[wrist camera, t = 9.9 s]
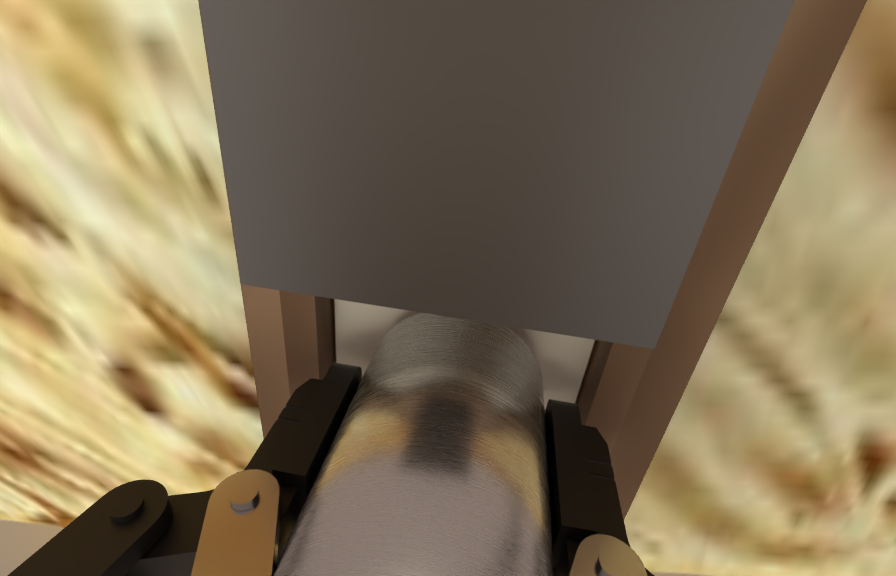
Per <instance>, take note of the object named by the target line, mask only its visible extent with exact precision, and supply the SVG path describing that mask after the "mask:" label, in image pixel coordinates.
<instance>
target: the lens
mask: <svg viewBox="0 0 896 576" xmlns="http://www.w3.org/2000/svg"><path fill="white" fill-rule="evenodd" d="M273 576H555V570H554V554H553V538H552V522H551V506H550V489H549V473H548V457H547V441H546V425H545V409H544V392H543V379H542V373H541V369H540V366H539V363H538V361H537V359H536V357H535V355H534V353H533V352H532V350H531V349H530V348H529V346H528V345H527V344H526V343H525V342H524V341H523V340H522V338H521V337H520V336H518V335H517V334H516V333H515V332H513V331H512V330H511V329H510V328H508V327H506V326H504V325H497V324H491V323H485V322H478V321H472V320H466V319H459V318H453V317H446V316H440V315H434V314H427V313H420V314H416V315H414V316H411V317H409V318H406V319H404V320H403V321H401V322H399V323H397V324H396V325H395V326H393V327H392V328H391V329H390V330H389V331H388V332H387V333H386V334H385V335H384V336H383V337H382V339H381V340H380V341H379V343H378V345H377V347H376V349H375V351H374V353H373V355H372V357H371V360H370V362H369V364H368V366H367V368H366V371H365V373H364V375H363V377H362V379H361V381H360V384H359V386H358V388H357V390H356V392H355V394H354V397H353V399H352V401H351V403H350V405H349V408H348V410H347V412H346V414H345V416H344V418H343V421H342V423H341V425H340V427H339V429H338V432H337V434H336V436H335V438H334V440H333V442H332V445H331V447H330V449H329V451H328V453H327V456H326V458H325V460H324V462H323V464H322V466H321V469H320V471H319V473H318V475H317V477H316V479H315V482H314V484H313V486H312V488H311V490H310V493H309V495H308V497H307V499H306V501H305V503H304V506H303V508H302V510H301V512H300V514H299V517H298V519H297V521H296V523H295V525H294V527H293V530H292V532H291V534H290V536H289V538H288V540H287V543H286V545H285V547H284V549H283V551H282V554H281V556H280V558H279V560H278V562H277V564H276V567H275V569H274V572H273Z"/></svg>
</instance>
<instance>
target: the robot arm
mask: <svg viewBox="0 0 896 576" xmlns="http://www.w3.org/2000/svg"><path fill="white" fill-rule="evenodd" d="M361 379H362V369H361V367H358V366H352V365H347V364H341V363H333V364H332V365H331V367H330V368H329V370H328V372H327V374H326V375H325V377H324V379H323V380H320V379H314V378H310V379H309V380H308V381H306V382H305V383H304V384H302V385H301V386H300V387H298V388H297V389H296V390H295V391H294V393H293V394H292V396H291V397H290V399H289V401H288V402H287V404H286V407H285V408H283V410H282V412H281V413H280V415H279V416H278V420H276V421H275V423H274V424H273V426H272V428H271V429H270V431H269V432H268V434H267V435H266V437H265V439H264V440H263V442H262V443H261V445H260V447H259V448H258V450H257V451H256V453H255V454H254V456H253V458H252V459H251V461H250V462H249V464H248V466H247V467H246V468H245V470H244V471H241V472H237V473H235V474H233V475H231V476H229V477H228V478H226V479H225V480H223V481H222V482H221V483H220V484H219V485H218V486H217V487H216V488H215V489H213V490H210V491H205V492H198V493H189V494H180V495H171V496H168V493H167V491H166V489H165V487H164V486H163V485H162V484H160V483H159V482H156V481H153V480H136V481H132V482H128V483H125V484H123V485H120V486H118V487H116V488H114V489H113V490H111V491H109V492H108V493H107V494H105V495H104V496H103V497H101V498H100V499H99V500H98V501H97V502H95V503H94V504H93V505H92V506H91V507H89V508H88V509H87V510H86V511H85V512H83V513H82V514H81V515H80V516H79V517H77V518H76V519H75V520H74V521H73V522H71V523H70V524H69V525H68V526H67V527H65V528H64V529H63V530H62V531H61V532H59V533H58V534H57V535H56V536H55V537H53V538H52V539H51V540H50V541H49V542H47V543H46V544H45V545H44V546H43V547H42V548H40V549H39V550H38V551H37V552H35V553H34V554H33V555H32V556H31V557H29V558H28V559H27V560H26V561H25V562H23V563H22V564H21V565H20V566H19V567H17V568H16V569H15V570H14V571H13V572H11V573H10V574H9V575H8V576H273V572H274V569H275V567H276V564H277V562H278V560H279V558H280V556H281V554H282V551H283V549H284V547H285V545H286V543H287V540H288V538H289V536H290V534H291V532H292V530H293V527H294V525H295V523H296V521H297V519H298V517H299V514H300V512H301V510H302V508H303V506H304V503H305V501H306V499H307V497H308V495H309V493H310V490H311V488H312V486H313V484H314V482H315V479H316V477H317V475H318V473H319V471H320V469H321V466H322V464H323V462H324V460H325V458H326V456H327V453H328V451H329V449H330V447H331V445H332V442H333V440H334V438H335V436H336V434H337V432H338V429H339V427H340V425H341V423H342V421H343V418H344V416H345V414H346V412H347V410H348V408H349V405H350V403H351V401H352V399H353V397H354V394H355V392H356V390H357V388H358V386H359V384H360V381H361ZM545 425H546V441H547V457H548V473H549V489H550V506H551V522H552V538H553V554H554V570H555V576H654V575H653V574H651V573H650V572H649V571H648V570H647V569H646V568H645V567H644V565H643V563H642V561H641V560H640V558H639V556H638V555H637V554H636V553H635V552H634V551H633V550H632V549H631V547H630V545H629V542H628V538H627V534H626V529H625V525H624V520H623V515H622V510H621V506H620V501H619V496H618V491H617V487H616V482H615V481H614V478H615V477H614V472H613V468H612V466H611V458H610V453H609V449H608V444H607V443H606V441H605V440H604V438H603V437H602V435H601V434H600V432H599V431H598V429H597V428H596V427H591V426H585V425H582V423H581V417H580V411H579V406H578V404H575V403H569V402H564V401H558V400H552V399H549V400H548V403H547V406H546V409H545Z"/></svg>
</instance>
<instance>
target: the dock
mask: <svg viewBox="0 0 896 576" xmlns="http://www.w3.org/2000/svg"><path fill="white" fill-rule="evenodd" d="M198 1H199V8H200V15H201V22H202V28H203V35H204V42H205V48H206V55H207V62H208V69H209V75H210V82H211V89H212V95H213V102H214V109H215V115H216V122H217V129H218V136H219V142H220V149H221V156H222V162H223V169H224V176H225V182H226V189H227V196H228V203H229V209H230V216H231V223H232V229H233V236H234V243H235V249H236V256H237V263H238V270H239V276H240V283H241V290H242V296H243V303H244V310H245V317H246V323H247V330H248V337H249V343H250V350H251V357H252V363H253V370H254V377H255V384H256V390H257V397H258V404H259V410H260V417H261V424H262V430H263V437H264V439H265V437H266V435H267V434H268V432H269V431H270V429H271V428H272V426H273V424H274V423H275V421H276V420H278V416H279V415H280V413H281V412H282V410H283V408H285V407H286V404H287V402H288V401H289V399H290V397H291V396H292V394H293V393H294V391H295V390H296V389H297V388H298V387H300V386H301V385H302V384H304V383H305V382H306V381H308V380H309V379H310V378H314V379H320V380H323V379H324V377H325V375H326V374H327V372H328V370H329V368H330V367H331V365H332V364H333V363H341V364H347V365H352V366H358V367H361V369H362V377H363V375H364V373H365V371H366V368H367V366H368V364H369V362H370V360H371V357H372V355H373V353H374V351H375V349H376V347H377V345H378V343H379V341H380V340H381V339H382V337H383V336H384V335H385V334H386V333H387V332H388V331H389V330H390V329H391V328H392V327H393V326H395V325H396V324H397V323H399V322H401V321H403V320H404V319H406V318H409V317H411V316H414V315H416V314H420V313H427V314H434V315H440V316H446V317H453V318H459V319H466V320H472V321H478V322H485V323H491V324H497V325H504V326H506V327H508V328H510V329H511V330H512V331H513V332H515V333H516V334H517V335H518V336H520V337H521V338H522V340H523V341H524V342H525V343H526V344H527V345H528V346H529V348H530V349H531V350H532V352H533V353H534V355H535V357H536V359H537V361H538V363H539V366H540V369H541V373H542V379H543V392H544V409H546V406H547V403H548V400H549V399H552V400H558V401H564V402H569V403H575V404H578V406H579V411H580V417H581V423H582V425H585V426H591V427H596V428H597V429H598V431H599V432H600V434H601V435H602V437H603V438H604V440H605V441H606V443H607V444H608V449H609V453H610V458H611V466H612V468H613V472H614V477H615V478H614V481H615V482H616V487H617V491H618V496H619V501H620V506H621V510H622V515H623V520H624V519H625V516H626V514H627V512H628V510H629V508H630V506H631V504H632V501H633V499H634V497H635V495H636V493H637V491H638V489H639V486H640V484H641V482H642V480H643V478H644V476H645V474H646V471H647V469H648V467H649V465H650V463H651V461H652V459H653V457H654V454H655V452H656V450H657V448H658V446H659V444H660V442H661V439H662V437H663V435H664V433H665V431H666V429H667V427H668V424H669V422H670V420H671V418H672V416H673V414H674V412H675V409H676V407H677V405H678V403H679V401H680V399H681V397H682V395H683V392H684V390H685V388H686V386H687V384H688V382H689V380H690V377H691V375H692V373H693V371H694V369H695V367H696V365H697V362H698V360H699V358H700V356H701V354H702V352H703V350H704V347H705V345H706V343H707V341H708V339H709V337H710V335H711V333H712V330H713V328H714V326H715V324H716V322H717V320H718V318H719V315H720V313H721V311H722V309H723V307H724V305H725V303H726V300H727V298H728V296H729V294H730V292H731V290H732V288H733V286H734V283H735V281H736V279H737V277H738V275H739V273H740V271H741V268H742V266H743V264H744V262H745V260H746V258H747V256H748V253H749V251H750V249H751V247H752V245H753V243H754V241H755V238H756V236H757V234H758V232H759V230H760V228H761V226H762V224H763V221H764V219H765V217H766V215H767V213H768V211H769V209H770V206H771V204H772V202H773V200H774V198H775V196H776V194H777V191H778V189H779V187H780V185H781V183H782V181H783V179H784V176H785V174H786V172H787V170H788V168H789V166H790V164H791V162H792V159H793V157H794V155H795V153H796V151H797V149H798V147H799V144H800V142H801V140H802V138H803V136H804V134H805V132H806V129H807V127H808V125H809V123H810V121H811V119H812V117H813V114H814V112H815V110H816V108H817V106H818V104H819V102H820V100H821V97H822V95H823V93H824V91H825V89H826V87H827V85H828V82H829V80H830V78H831V76H832V74H833V72H834V70H835V67H836V65H837V63H838V61H839V59H840V57H841V55H842V52H843V50H844V48H845V46H846V44H847V42H848V40H849V38H850V35H851V33H852V31H853V29H854V27H855V25H856V23H857V20H858V18H859V16H860V14H861V12H862V10H863V8H864V5H865V3H866V1H867V0H198Z"/></svg>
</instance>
